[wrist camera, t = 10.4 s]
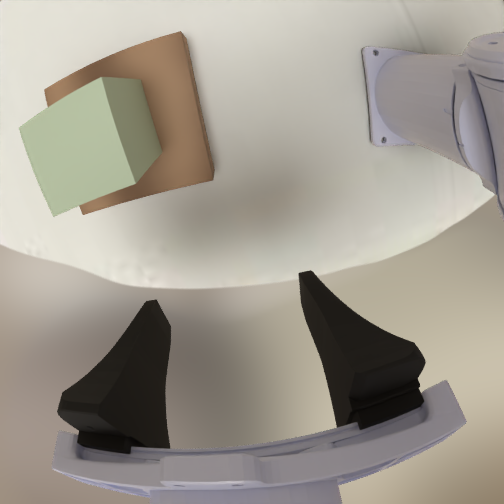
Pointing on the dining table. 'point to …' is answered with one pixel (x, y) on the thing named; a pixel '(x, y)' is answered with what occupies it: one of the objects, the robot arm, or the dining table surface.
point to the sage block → (91, 142)
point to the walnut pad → (155, 114)
